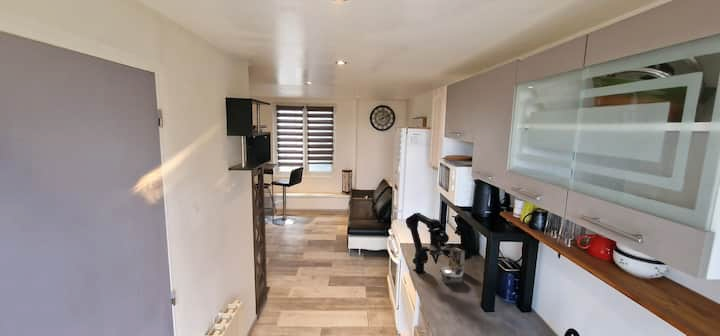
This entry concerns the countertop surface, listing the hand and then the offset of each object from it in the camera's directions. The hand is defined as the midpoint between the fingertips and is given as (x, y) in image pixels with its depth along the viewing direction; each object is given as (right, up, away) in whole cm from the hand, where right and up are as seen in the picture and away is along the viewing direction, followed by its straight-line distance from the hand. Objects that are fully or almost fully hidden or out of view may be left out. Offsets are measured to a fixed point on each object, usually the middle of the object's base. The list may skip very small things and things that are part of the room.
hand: (436, 263), depth 189 cm
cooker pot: (+11, -13, +4) cm, 18 cm away
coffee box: (+19, -12, +18) cm, 28 cm away
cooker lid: (+11, -7, +3) cm, 14 cm away
